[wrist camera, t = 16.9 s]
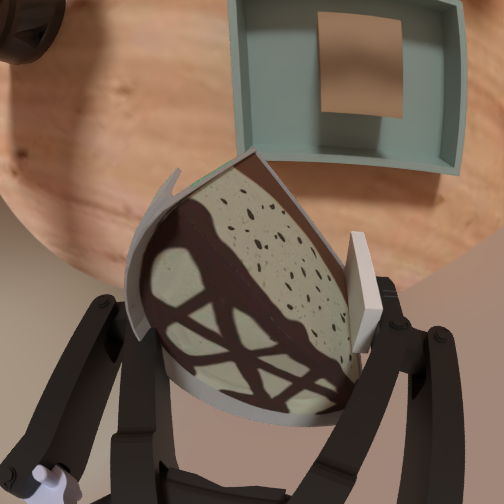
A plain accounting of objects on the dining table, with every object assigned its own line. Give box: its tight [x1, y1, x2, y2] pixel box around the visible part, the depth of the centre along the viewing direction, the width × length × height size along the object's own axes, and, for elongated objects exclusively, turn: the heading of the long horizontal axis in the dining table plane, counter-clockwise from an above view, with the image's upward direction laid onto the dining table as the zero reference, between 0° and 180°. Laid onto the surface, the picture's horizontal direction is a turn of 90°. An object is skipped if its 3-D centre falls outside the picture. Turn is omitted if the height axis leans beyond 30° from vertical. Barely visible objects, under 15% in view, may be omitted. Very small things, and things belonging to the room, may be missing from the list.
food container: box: [124, 147, 362, 427], centre depth 14 cm, size 12×6×10 cm, turn 39°
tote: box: [228, 0, 467, 176], centre depth 25 cm, size 24×20×5 cm
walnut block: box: [316, 12, 403, 119], centre depth 23 cm, size 9×7×8 cm
